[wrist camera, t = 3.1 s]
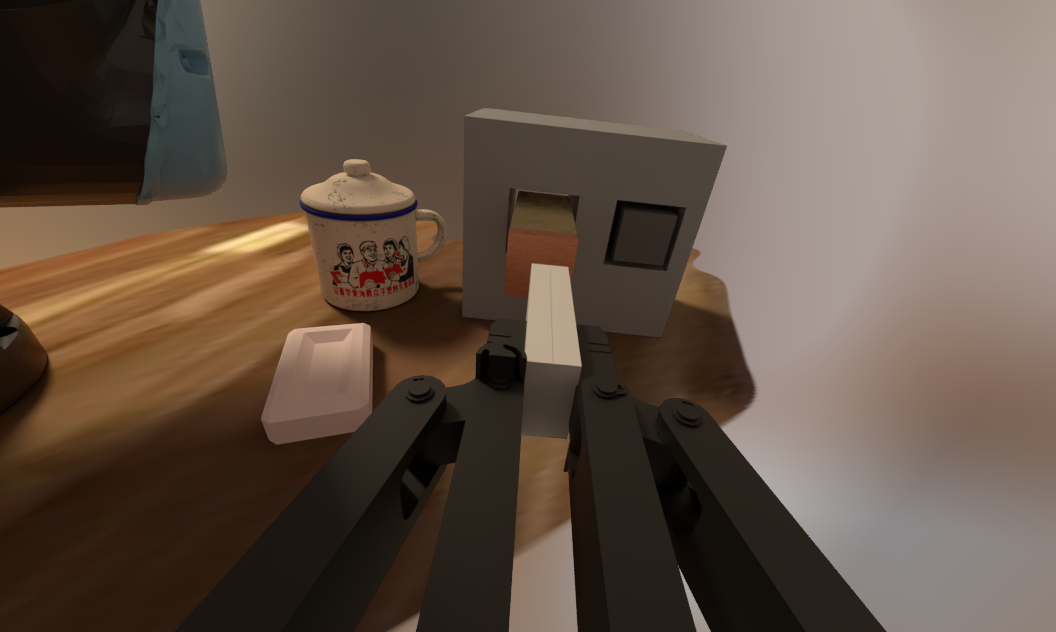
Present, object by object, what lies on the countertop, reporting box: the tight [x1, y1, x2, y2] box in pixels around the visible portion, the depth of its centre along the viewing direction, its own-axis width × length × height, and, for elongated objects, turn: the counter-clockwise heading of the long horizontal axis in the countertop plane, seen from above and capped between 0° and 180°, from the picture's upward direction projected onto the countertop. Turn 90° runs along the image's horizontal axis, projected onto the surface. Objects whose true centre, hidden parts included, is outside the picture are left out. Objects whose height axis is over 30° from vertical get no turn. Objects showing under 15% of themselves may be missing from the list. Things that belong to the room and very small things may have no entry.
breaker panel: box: [462, 108, 727, 338], centre depth 34 cm, size 18×10×16 cm, turn 88°
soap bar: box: [261, 323, 373, 445], centre depth 25 cm, size 5×9×2 cm, turn 18°
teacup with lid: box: [300, 159, 447, 311], centre depth 34 cm, size 12×9×12 cm
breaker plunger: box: [504, 191, 578, 297], centre depth 27 cm, size 4×10×4 cm, turn 178°
